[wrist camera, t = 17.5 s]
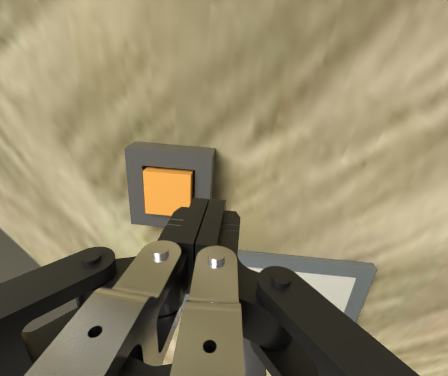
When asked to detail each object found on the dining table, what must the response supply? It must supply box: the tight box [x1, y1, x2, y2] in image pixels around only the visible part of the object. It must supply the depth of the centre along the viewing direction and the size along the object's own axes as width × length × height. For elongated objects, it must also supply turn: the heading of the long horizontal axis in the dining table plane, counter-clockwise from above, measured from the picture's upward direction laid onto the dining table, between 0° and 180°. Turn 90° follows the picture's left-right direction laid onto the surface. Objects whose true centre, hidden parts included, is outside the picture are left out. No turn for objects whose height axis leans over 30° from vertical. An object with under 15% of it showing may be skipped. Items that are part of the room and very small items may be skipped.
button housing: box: [125, 142, 215, 227], centre depth 26 cm, size 8×8×3 cm
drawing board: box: [182, 250, 377, 323], centre depth 33 cm, size 22×16×1 cm
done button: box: [143, 166, 194, 216], centre depth 25 cm, size 4×4×2 cm
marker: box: [243, 338, 266, 376], centre depth 27 cm, size 4×4×12 cm
